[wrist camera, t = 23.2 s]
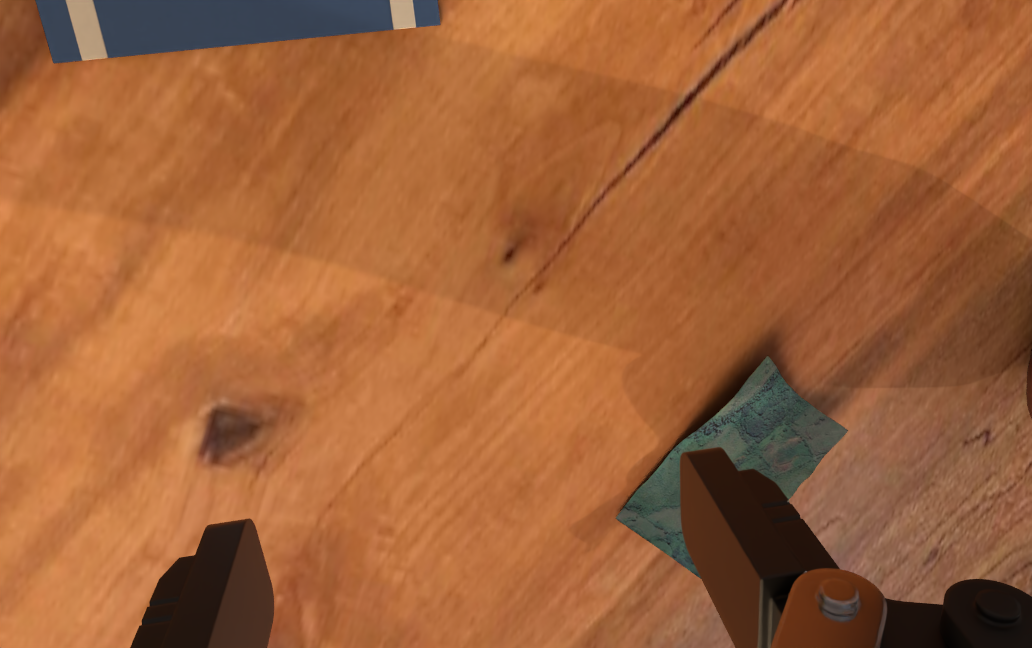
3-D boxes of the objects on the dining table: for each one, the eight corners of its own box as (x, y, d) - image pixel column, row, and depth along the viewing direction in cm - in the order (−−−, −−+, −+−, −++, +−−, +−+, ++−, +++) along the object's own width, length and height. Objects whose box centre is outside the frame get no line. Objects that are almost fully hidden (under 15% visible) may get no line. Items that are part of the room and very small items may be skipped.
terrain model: (700, 572, 49) (713, 591, 48) (611, 513, 47) (621, 530, 45) (836, 416, 48) (855, 429, 46) (753, 346, 45) (770, 357, 44)
